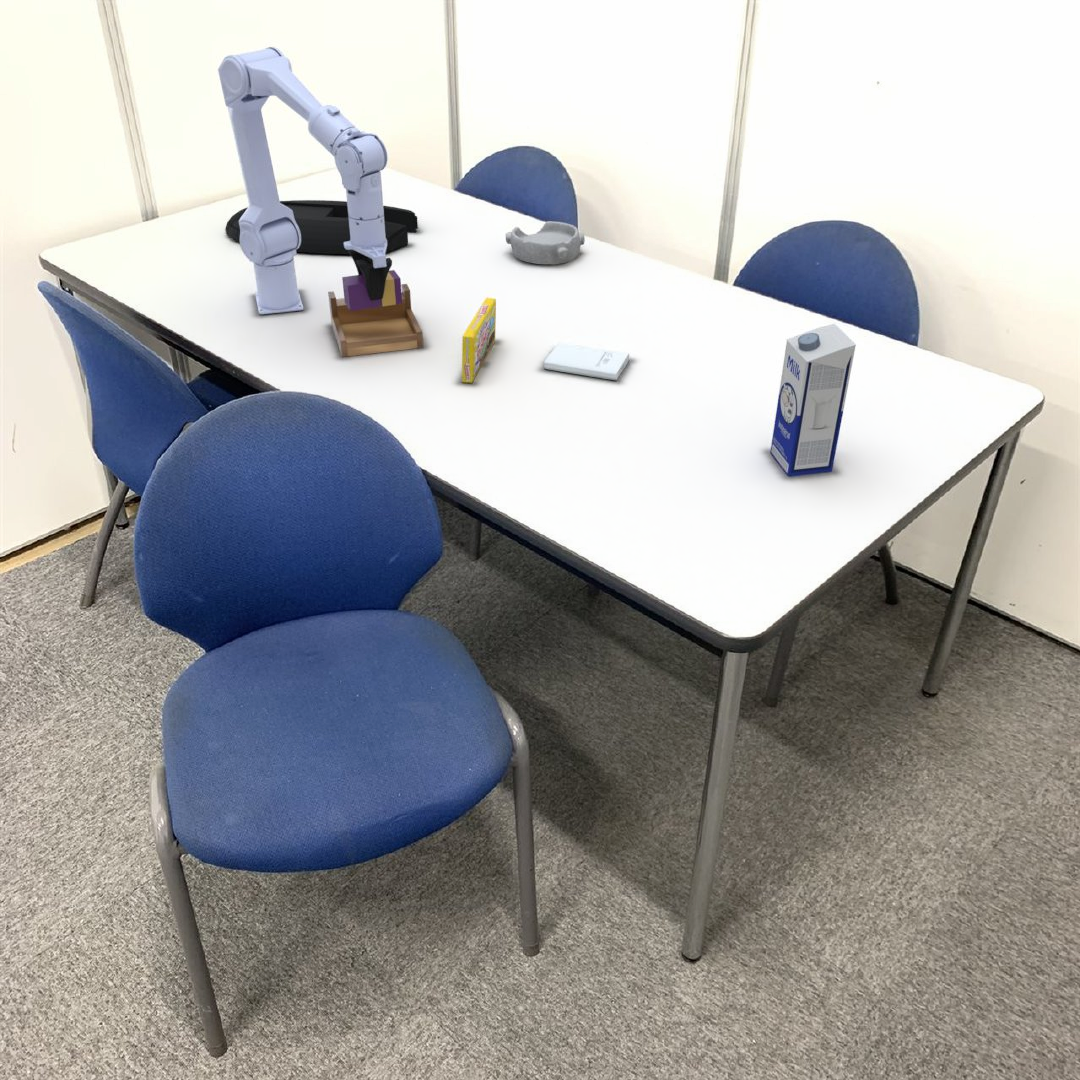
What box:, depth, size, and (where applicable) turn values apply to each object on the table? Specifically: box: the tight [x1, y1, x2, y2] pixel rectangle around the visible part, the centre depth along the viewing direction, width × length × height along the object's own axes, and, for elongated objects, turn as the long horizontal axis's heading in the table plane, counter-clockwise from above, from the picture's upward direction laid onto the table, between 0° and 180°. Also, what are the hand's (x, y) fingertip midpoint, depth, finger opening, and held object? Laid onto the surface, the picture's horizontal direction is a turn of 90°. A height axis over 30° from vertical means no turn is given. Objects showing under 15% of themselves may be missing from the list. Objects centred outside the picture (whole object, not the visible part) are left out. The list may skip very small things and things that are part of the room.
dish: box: [505, 220, 586, 265], centre depth 224 cm, size 14×14×5 cm
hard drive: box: [543, 342, 630, 381], centre depth 184 cm, size 2×8×12 cm
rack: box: [327, 283, 424, 358], centre depth 191 cm, size 13×14×6 cm
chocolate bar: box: [341, 269, 402, 311], centre depth 185 cm, size 4×9×4 cm, turn 112°
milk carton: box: [770, 323, 857, 477], centre depth 153 cm, size 7×7×20 cm
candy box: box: [461, 297, 497, 384], centre depth 183 cm, size 16×2×8 cm, turn 169°
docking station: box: [224, 199, 419, 255], centre depth 233 cm, size 25×41×5 cm, turn 82°
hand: (372, 294), depth 186 cm, fingers closed on chocolate bar, 4 cm apart
